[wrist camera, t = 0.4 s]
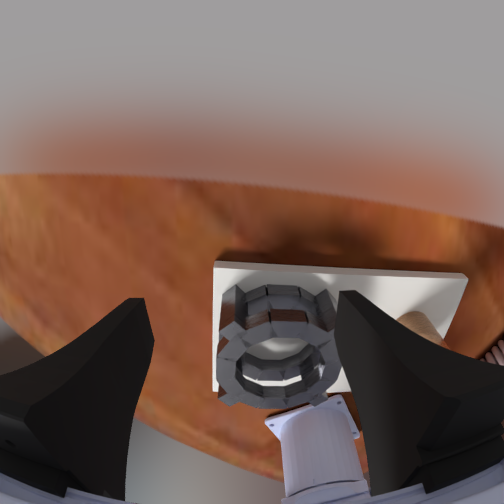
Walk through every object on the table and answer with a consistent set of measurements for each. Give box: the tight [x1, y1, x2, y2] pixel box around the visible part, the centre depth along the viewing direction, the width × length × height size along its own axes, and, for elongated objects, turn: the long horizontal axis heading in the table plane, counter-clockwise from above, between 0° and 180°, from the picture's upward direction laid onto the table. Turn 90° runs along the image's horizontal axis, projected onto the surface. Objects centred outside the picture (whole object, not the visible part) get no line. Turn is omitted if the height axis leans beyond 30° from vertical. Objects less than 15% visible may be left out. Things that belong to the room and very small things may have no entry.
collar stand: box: [216, 284, 342, 409], centre depth 21 cm, size 8×8×4 cm
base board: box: [213, 261, 468, 393], centre depth 24 cm, size 20×12×1 cm, turn 86°
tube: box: [396, 311, 450, 350], centre depth 19 cm, size 4×4×9 cm
